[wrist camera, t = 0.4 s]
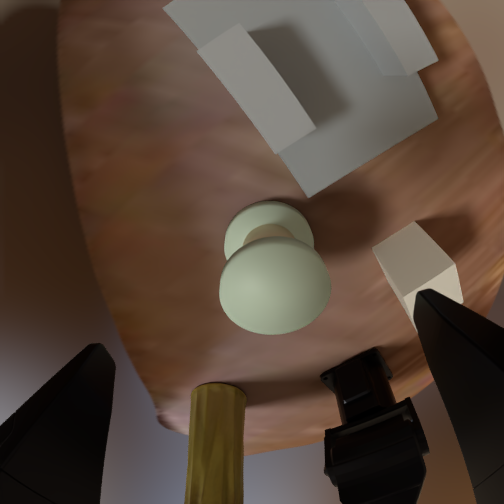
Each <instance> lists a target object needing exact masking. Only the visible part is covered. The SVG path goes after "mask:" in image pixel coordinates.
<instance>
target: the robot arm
mask: <svg viewBox="0 0 504 504" xmlns="http://www.w3.org/2000/svg"><path fill="white" fill-rule="evenodd" d="M413 320H414V324H415V326H416V329H417V332H418V335H419V338H420V341H421V344H422V347H423V350H424V353H425V356H426V360H427V363H428V365H429V368H430V371H431V373H432V376H433V378H434V380H435V382H436V385H437V387H438V390H439V392H440V394H441V397H442V399H443V402H444V404H445V407H446V409H447V412H448V415H449V417H450V420H451V422H452V425H453V428H454V431H455V434H456V436H457V439H458V442H459V445H460V448H461V451H462V454H463V457H464V460H465V463H466V466H467V470H468V473H469V476H470V479H471V483H472V486H473V488H474V489H473V491H474V495H475V498H476V502H477V504H504V328H502V327H500V326H498V325H497V324H495V323H493V322H492V321H490V320H488V319H486V318H485V317H483V316H481V315H479V314H478V313H476V312H474V311H472V310H470V309H469V308H467V307H465V306H463V305H461V304H459V303H458V302H456V301H454V300H452V299H450V298H448V297H447V296H445V295H443V294H441V293H439V292H437V291H435V290H433V289H431V288H428V289H424V290H420V291H418V292H417V294H416V297H415V304H414V311H413ZM115 370H116V366H115V362H114V360H113V358H112V357H111V356H110V354H109V353H108V351H107V350H106V348H105V347H104V345H103V344H101V343H91V344H89V345H87V346H86V347H85V348H84V349H83V350H82V351H81V352H79V353H78V354H77V355H76V356H75V357H74V358H73V359H72V360H70V361H69V362H68V363H67V364H66V365H65V366H64V367H63V368H62V369H61V370H59V371H58V372H57V373H56V374H55V375H54V376H53V377H52V378H51V379H50V380H48V381H47V382H46V383H45V384H44V385H43V386H42V387H41V388H40V389H39V390H38V391H37V392H36V393H35V394H33V396H31V397H30V398H29V399H28V400H27V401H26V402H25V403H24V404H23V405H22V406H21V407H20V408H18V409H17V410H16V412H15V413H13V414H12V415H11V416H10V417H9V418H8V419H7V420H6V421H5V422H4V423H3V424H2V425H1V426H0V504H100V496H101V486H102V485H101V484H102V476H103V467H104V458H105V451H106V445H107V438H108V432H109V425H110V419H111V413H112V403H113V391H114V380H115ZM392 377H393V375H392V372H391V371H390V369H389V367H388V366H387V364H386V362H385V361H384V359H383V357H382V356H381V354H380V352H379V351H378V349H376V348H375V349H371V350H370V351H368V352H366V353H364V354H362V355H360V356H358V357H356V358H354V359H352V360H350V361H348V362H346V363H344V364H342V365H340V366H338V367H336V368H334V369H331V370H329V371H327V372H325V373H323V374H321V375H320V378H321V381H322V382H323V383H324V384H325V385H326V386H327V387H328V388H329V389H330V390H331V391H332V392H334V393H335V395H336V400H337V404H338V408H339V413H340V417H341V422H342V425H341V426H338V427H335V428H332V429H331V428H329V429H326V430H325V437H324V444H325V467H324V473H325V475H326V476H328V477H329V478H330V480H331V482H332V484H333V485H334V486H335V487H338V491H339V497H340V501H341V503H342V504H417V502H418V499H419V496H420V493H421V490H422V487H423V484H424V480H425V477H426V466H425V463H424V459H423V456H425V455H427V454H429V453H430V452H429V447H428V444H427V440H426V437H425V434H424V431H423V429H422V426H421V423H420V421H419V418H418V416H417V413H416V411H415V408H414V406H413V404H412V401H411V399H410V397H407V398H405V400H403V401H401V402H399V403H396V400H395V397H394V395H393V392H392V389H391V386H390V384H389V381H388V380H390V379H391V378H392Z"/></svg>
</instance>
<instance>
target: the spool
mask: <svg viewBox="0 0 504 504" xmlns="http://www.w3.org/2000/svg"><path fill="white" fill-rule="evenodd" d="M224 249H225V256H226V259H227V262H226V264H225V266H224V268H223V271H222V274H221V280H220V291H219V296H220V302H221V305H222V307H223V310H224V311H225V313H226V314H227V316H228V317H229V318H230V319H231V320H232V321H233V322H234V323H236V324H237V325H239V326H240V327H242V328H244V329H246V330H249V331H251V332H255V333H259V334H268V335H276V334H284V333H289V332H292V331H295V330H298V329H300V328H302V327H304V326H306V325H308V324H309V323H311V322H312V321H313V320H315V319H316V318H317V317H318V316H319V315H320V314H321V313H322V311H323V310H324V308H325V307H326V305H327V303H328V301H329V298H330V294H331V281H330V277H329V274H328V271H327V269H326V266H325V263H324V261H323V260H322V258H321V256H320V255H319V254H318V252H317V251H315V250H314V239H313V234H312V232H311V229H310V227H309V224H308V222H307V220H306V219H305V217H304V216H303V215H302V214H301V213H300V212H299V211H298V210H297V209H295V208H294V207H292V206H290V205H288V204H286V203H283V202H278V201H261V202H257V203H253V204H251V205H249V206H247V207H245V208H243V209H242V210H241V211H239V212H238V213H237V214H236V215H235V216H234V217H233V219H232V220H231V222H230V224H229V225H228V228H227V231H226V236H225V245H224Z"/></svg>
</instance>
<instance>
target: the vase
mask: <svg viewBox="0 0 504 504" xmlns="http://www.w3.org/2000/svg"><path fill="white" fill-rule="evenodd" d="M246 402H247V399H246V395H245V394H244V393H243V392H242V391H241V390H240V389H238V388H236V387H234V386H231V385H228V384H222V383H209V384H204V385H201V386H198V387H197V388H195V389H194V390H193V391H192V393H191V411H190V424H189V445H188V468H187V478H186V492H185V502H184V504H243V497H244V496H243V495H244V494H243V492H244V491H243V459H244V446H243V435H244V420H245V407H246Z"/></svg>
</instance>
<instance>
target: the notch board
mask: <svg viewBox="0 0 504 504" xmlns="http://www.w3.org/2000/svg"><path fill="white" fill-rule="evenodd" d="M163 9H164V11H165V12H166V13H167V14H168V15H169V16H170V17H171V18H172V19H173V21H174V22H175V23H176V24H177V25H178V26H179V27H180V28H181V30H182V31H183V32H184V33H185V34H186V35H187V37H188V38H189V39H190V40H191V41H192V42H193V44H194V45H195V46H196V47H197V48H198V49H199V50H198V51H197V53H198V54H199V55H200V56H201V57H202V59H203V60H204V61H205V62H206V63H207V65H208V66H209V67H210V68H211V70H212V71H213V72H214V73H215V75H216V76H217V77H218V78H219V80H220V81H221V82H222V83H223V85H224V86H225V87H226V88H227V90H228V91H229V92H230V94H231V95H232V96H233V97H234V99H235V100H236V101H237V103H238V104H239V105H240V107H241V108H242V109H243V111H244V112H245V113H246V115H247V116H248V117H249V119H250V120H251V121H252V123H253V124H254V125H255V127H256V128H257V129H258V131H259V132H260V133H261V135H262V136H263V138H264V139H265V140H266V142H267V143H268V145H269V146H270V147H271V149H272V150H273V152H274V153H275V154H277V153H278V154H279V156H280V157H281V158H282V160H283V161H284V163H285V164H286V166H287V167H288V169H289V170H290V172H291V173H292V174H293V176H294V177H295V179H296V180H297V182H298V183H299V185H300V186H301V188H302V189H303V191H304V192H305V194H306V195H307V197H308V198H310V197H311V196H313V195H314V194H316V193H318V192H319V191H321V190H323V189H324V188H326V187H327V186H329V185H331V184H332V183H334V182H335V181H337V180H339V179H340V178H342V177H343V176H345V175H347V174H348V173H350V172H352V171H353V170H355V169H356V168H358V167H360V166H361V165H363V164H365V163H366V162H368V161H370V160H371V159H373V158H374V157H376V156H378V155H379V154H381V153H383V152H384V151H386V150H388V149H389V148H391V147H392V146H394V145H396V144H397V143H399V142H401V141H402V140H404V139H406V138H407V137H409V136H411V135H412V134H414V133H416V132H417V131H419V130H421V129H422V128H424V127H426V126H427V125H429V124H431V123H432V122H434V121H436V120H437V119H438V116H437V114H436V112H435V109H434V107H433V105H432V102H431V100H430V98H429V96H428V94H427V91H426V89H425V87H424V85H423V83H422V81H421V79H420V77H419V75H418V73H417V71H419V70H421V69H423V68H425V67H427V66H429V65H431V64H433V63H435V62H437V61H439V60H438V58H437V56H436V54H435V52H434V50H433V48H432V46H431V44H430V42H429V41H428V39H427V37H426V35H425V33H424V32H423V30H422V28H421V26H420V25H419V23H418V21H417V20H416V18H415V16H414V15H413V13H412V11H411V10H410V8H409V7H408V5H407V4H406V2H405V1H404V0H173V1H172V2H171V3H169V4H168V5H166V6H165V7H164V8H163Z"/></svg>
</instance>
